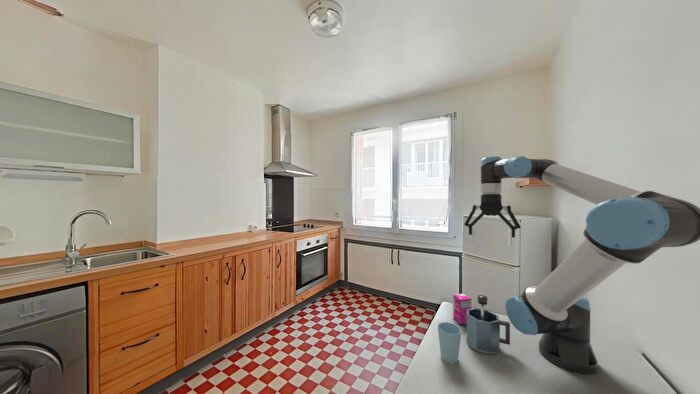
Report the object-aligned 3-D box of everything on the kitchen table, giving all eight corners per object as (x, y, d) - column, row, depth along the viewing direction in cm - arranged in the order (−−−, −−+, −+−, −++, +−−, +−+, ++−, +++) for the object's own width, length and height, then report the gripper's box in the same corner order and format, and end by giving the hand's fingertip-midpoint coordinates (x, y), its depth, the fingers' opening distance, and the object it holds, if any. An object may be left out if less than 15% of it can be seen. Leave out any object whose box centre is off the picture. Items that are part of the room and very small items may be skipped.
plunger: (494, 336, 90) (494, 294, 90) (496, 348, 83) (496, 303, 83) (469, 330, 94) (469, 290, 94) (470, 341, 86) (470, 298, 87)
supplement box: (452, 318, 108) (452, 294, 108) (463, 317, 109) (463, 293, 109) (460, 325, 102) (460, 299, 102) (472, 324, 103) (472, 298, 104)
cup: (466, 361, 79) (466, 330, 80) (450, 368, 76) (449, 336, 76) (448, 348, 86) (448, 320, 86) (433, 354, 83) (433, 324, 83)
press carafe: (507, 343, 89) (507, 313, 90) (512, 361, 80) (512, 327, 80) (466, 334, 95) (466, 306, 96) (466, 349, 86) (466, 318, 86)
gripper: (524, 193, 97) (524, 244, 97) (458, 194, 108) (458, 240, 107) (529, 193, 90) (529, 248, 90) (458, 193, 101) (458, 242, 101)
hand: (490, 243), depth 99 cm, fingers open, 13 cm apart
